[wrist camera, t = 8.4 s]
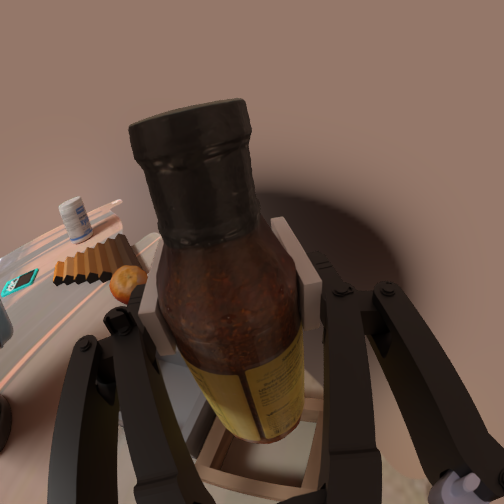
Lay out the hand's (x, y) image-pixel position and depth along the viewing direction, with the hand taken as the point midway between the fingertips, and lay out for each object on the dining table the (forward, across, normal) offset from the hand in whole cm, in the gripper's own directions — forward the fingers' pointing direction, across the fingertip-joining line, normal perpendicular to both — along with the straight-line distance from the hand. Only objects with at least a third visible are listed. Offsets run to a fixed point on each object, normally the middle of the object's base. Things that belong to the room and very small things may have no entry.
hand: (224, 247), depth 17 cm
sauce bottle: (-5, 0, -12) cm, 13 cm away
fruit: (+28, -21, -24) cm, 42 cm away
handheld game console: (+46, -72, -24) cm, 89 cm away
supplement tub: (+70, -54, -24) cm, 91 cm away
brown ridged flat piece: (+42, -37, -24) cm, 61 cm away
